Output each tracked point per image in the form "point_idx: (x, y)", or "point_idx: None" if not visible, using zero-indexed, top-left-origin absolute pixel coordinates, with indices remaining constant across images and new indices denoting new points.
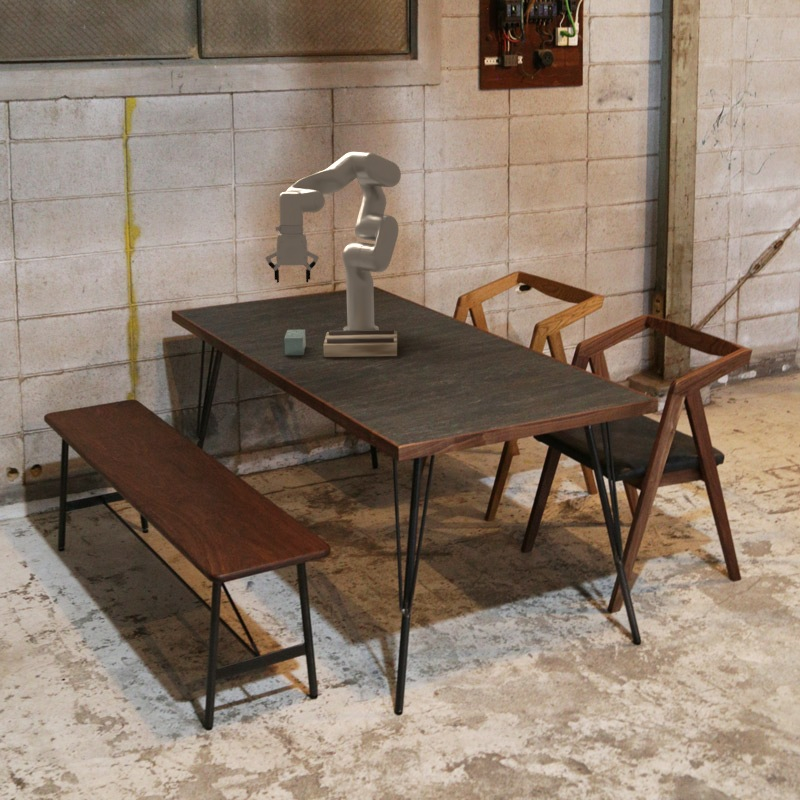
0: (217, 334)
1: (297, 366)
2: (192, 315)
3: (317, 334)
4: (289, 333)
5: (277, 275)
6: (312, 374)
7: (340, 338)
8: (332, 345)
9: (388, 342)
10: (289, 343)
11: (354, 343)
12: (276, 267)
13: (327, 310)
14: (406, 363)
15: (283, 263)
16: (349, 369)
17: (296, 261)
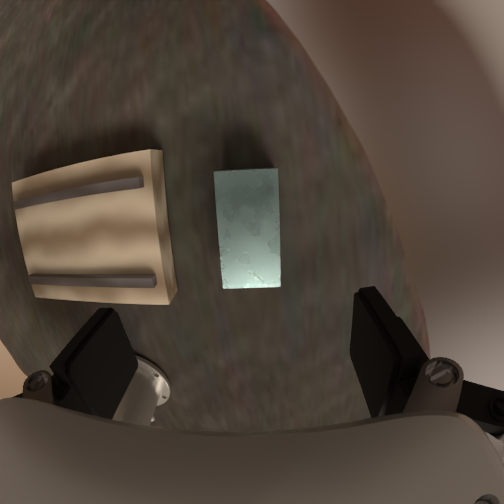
0: None
1: (224, 61)
2: None
3: (219, 369)
4: (267, 236)
5: (391, 321)
6: (181, 7)
7: (104, 192)
8: (126, 153)
9: (23, 195)
10: (260, 168)
11: (77, 176)
12: (436, 392)
13: None
14: (17, 131)
15: (368, 445)
16: (101, 58)
17: (66, 461)
